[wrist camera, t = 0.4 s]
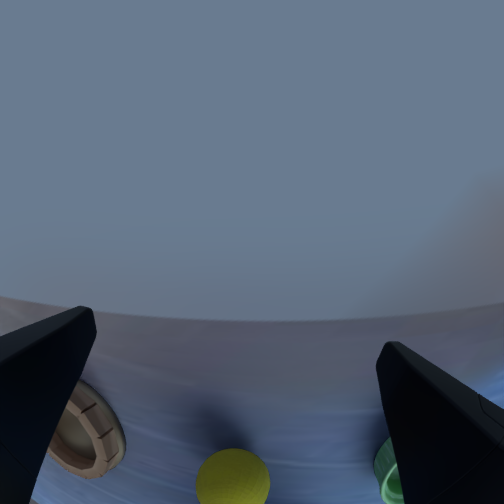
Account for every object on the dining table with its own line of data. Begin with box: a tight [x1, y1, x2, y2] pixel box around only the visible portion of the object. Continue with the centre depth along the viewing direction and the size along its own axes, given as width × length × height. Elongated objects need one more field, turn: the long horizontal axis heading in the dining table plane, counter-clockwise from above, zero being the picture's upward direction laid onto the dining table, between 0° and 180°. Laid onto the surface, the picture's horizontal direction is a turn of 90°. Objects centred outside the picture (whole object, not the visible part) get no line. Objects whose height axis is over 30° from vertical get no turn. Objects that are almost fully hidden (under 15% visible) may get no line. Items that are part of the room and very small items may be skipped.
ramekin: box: [374, 437, 404, 504], centre depth 16 cm, size 9×9×4 cm
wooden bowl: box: [47, 380, 126, 479], centre depth 19 cm, size 11×11×3 cm
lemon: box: [196, 448, 270, 504], centre depth 16 cm, size 6×6×8 cm
